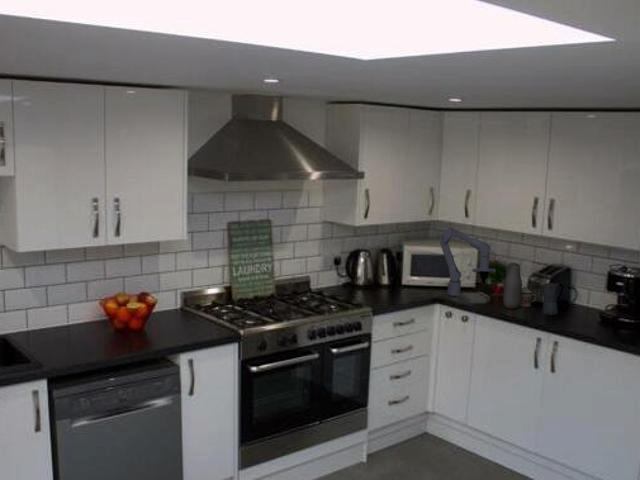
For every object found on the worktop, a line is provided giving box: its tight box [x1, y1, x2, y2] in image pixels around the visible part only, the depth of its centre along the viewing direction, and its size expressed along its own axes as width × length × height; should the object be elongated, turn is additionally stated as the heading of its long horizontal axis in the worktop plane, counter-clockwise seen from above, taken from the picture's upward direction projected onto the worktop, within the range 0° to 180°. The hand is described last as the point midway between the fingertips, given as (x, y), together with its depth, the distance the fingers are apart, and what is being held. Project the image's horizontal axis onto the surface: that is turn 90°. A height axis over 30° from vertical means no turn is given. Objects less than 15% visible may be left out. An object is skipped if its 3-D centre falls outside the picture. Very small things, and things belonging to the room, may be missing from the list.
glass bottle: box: [502, 262, 523, 310], centre depth 402 cm, size 10×10×28 cm
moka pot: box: [540, 280, 565, 316], centre depth 393 cm, size 10×15×20 cm, turn 111°
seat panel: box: [460, 292, 487, 304], centre depth 425 cm, size 18×10×2 cm, turn 7°
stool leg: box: [476, 290, 491, 303], centre depth 428 cm, size 16×3×3 cm, turn 8°
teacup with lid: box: [519, 286, 537, 308], centre depth 413 cm, size 12×9×12 cm
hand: (483, 283), depth 431 cm, fingers closed
